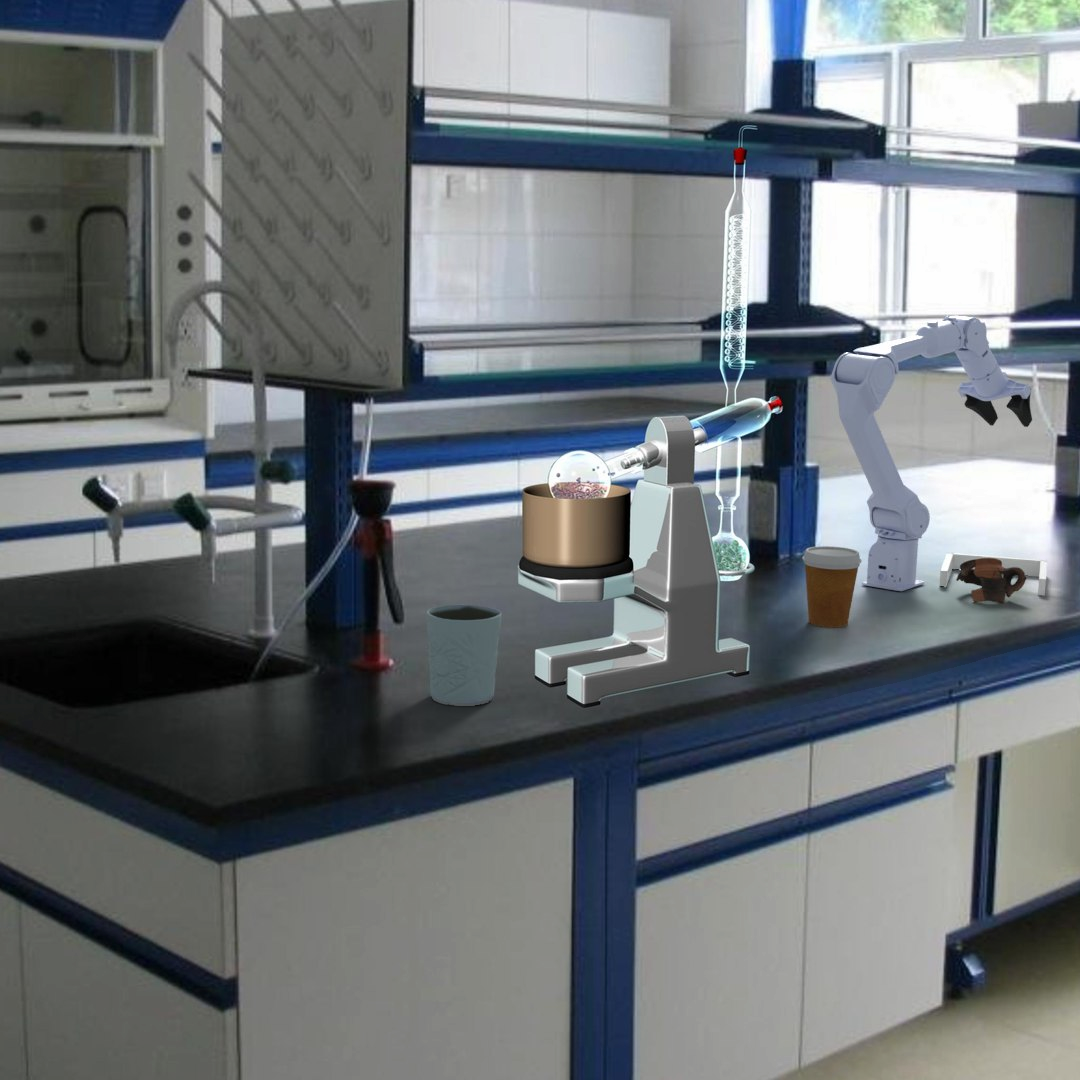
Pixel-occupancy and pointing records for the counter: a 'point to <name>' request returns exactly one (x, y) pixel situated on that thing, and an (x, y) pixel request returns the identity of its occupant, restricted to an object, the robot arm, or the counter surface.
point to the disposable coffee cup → (830, 584)
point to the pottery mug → (991, 579)
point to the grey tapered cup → (463, 652)
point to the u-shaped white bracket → (1027, 565)
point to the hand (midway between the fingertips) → (1011, 422)
